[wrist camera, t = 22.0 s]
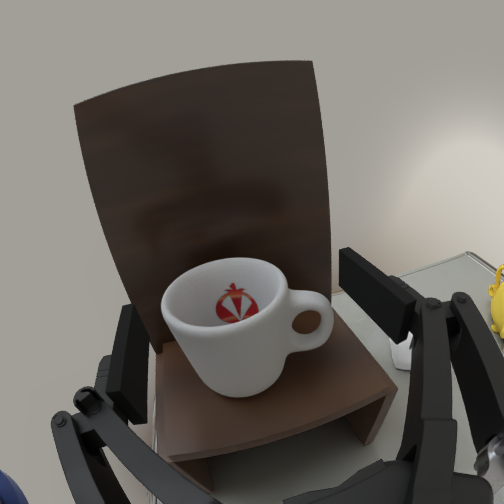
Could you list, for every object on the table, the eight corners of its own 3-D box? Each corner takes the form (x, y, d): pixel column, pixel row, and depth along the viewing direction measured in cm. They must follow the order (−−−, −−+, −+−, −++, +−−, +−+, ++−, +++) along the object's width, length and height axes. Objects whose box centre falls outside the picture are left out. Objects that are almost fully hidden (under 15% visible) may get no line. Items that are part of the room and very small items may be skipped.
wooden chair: (373, 441, 21) (425, 19, 6) (202, 495, 18) (-32, 86, 4) (324, 363, 33) (306, 63, 18) (188, 402, 30) (78, 106, 15)
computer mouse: (418, 309, 38) (425, 277, 35) (436, 370, 27) (451, 337, 24) (382, 311, 40) (387, 278, 37) (392, 375, 29) (403, 341, 26)
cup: (323, 328, 23) (323, 246, 19) (338, 404, 16) (349, 319, 12) (204, 337, 24) (179, 261, 21) (185, 409, 17) (140, 332, 14)
